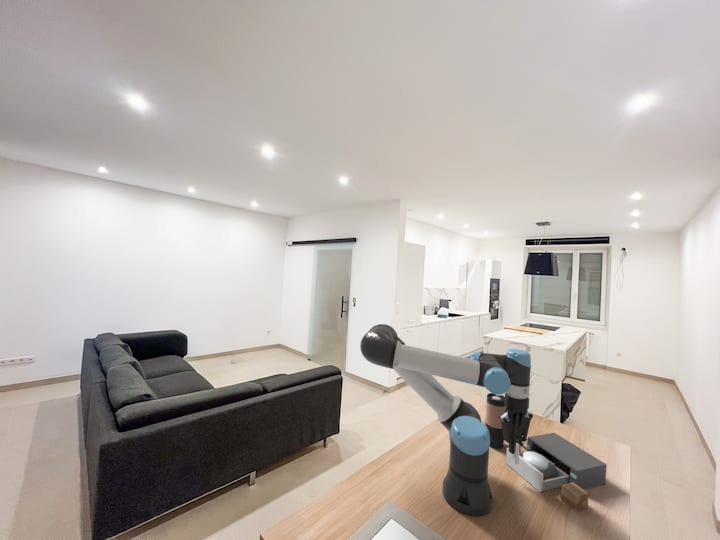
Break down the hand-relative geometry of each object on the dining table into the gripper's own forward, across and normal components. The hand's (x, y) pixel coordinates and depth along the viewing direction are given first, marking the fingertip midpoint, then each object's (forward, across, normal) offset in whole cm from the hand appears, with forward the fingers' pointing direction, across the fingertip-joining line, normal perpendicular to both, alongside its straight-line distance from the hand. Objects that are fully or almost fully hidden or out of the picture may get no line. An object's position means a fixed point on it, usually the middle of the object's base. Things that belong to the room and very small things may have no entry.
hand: (514, 461), depth 105 cm
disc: (+2, +10, 0) cm, 10 cm away
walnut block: (+7, +11, -14) cm, 19 cm away
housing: (+7, +24, 0) cm, 25 cm away
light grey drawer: (+7, +11, 0) cm, 13 cm away
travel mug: (+7, +9, +19) cm, 22 cm away
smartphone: (+7, +23, +11) cm, 26 cm away
